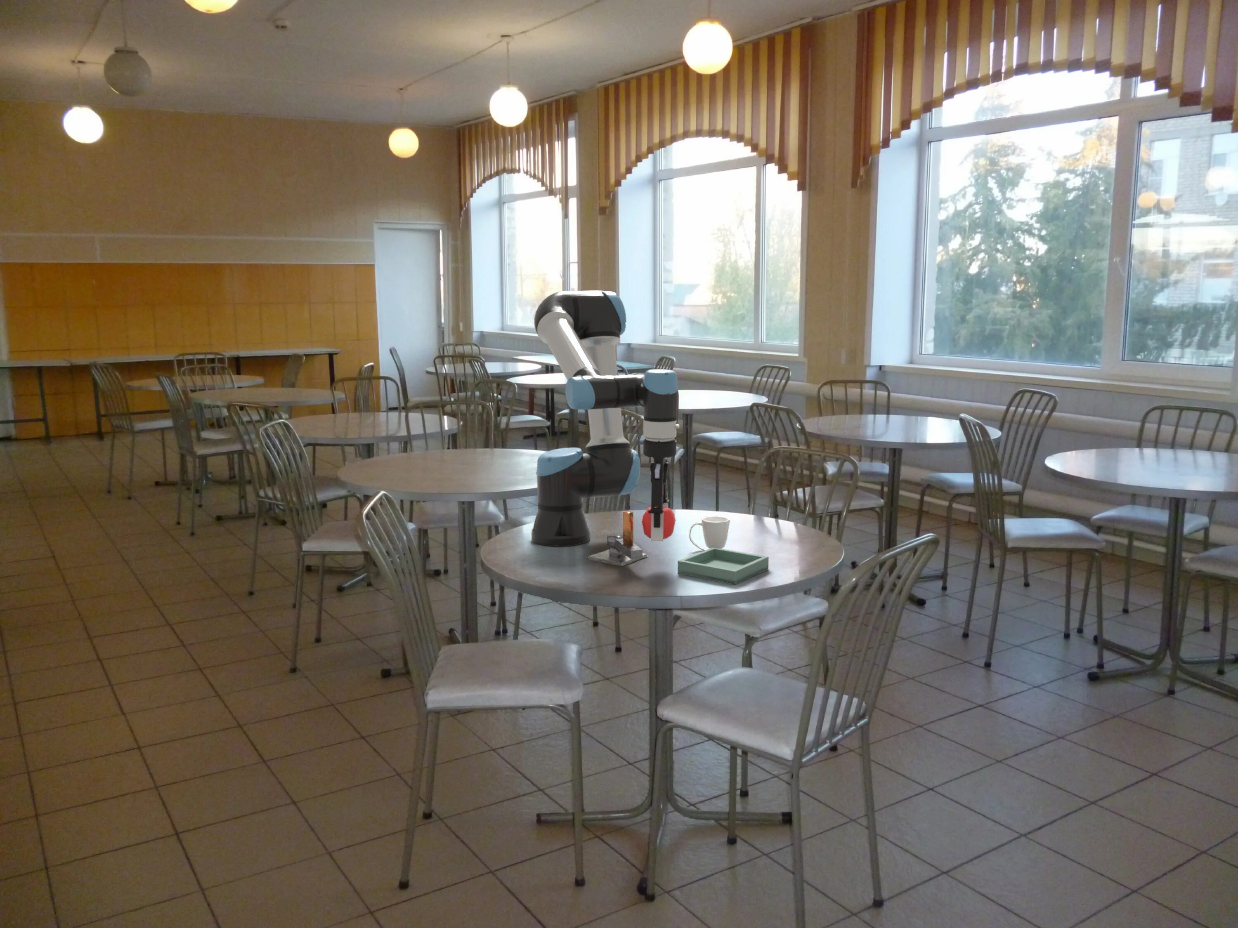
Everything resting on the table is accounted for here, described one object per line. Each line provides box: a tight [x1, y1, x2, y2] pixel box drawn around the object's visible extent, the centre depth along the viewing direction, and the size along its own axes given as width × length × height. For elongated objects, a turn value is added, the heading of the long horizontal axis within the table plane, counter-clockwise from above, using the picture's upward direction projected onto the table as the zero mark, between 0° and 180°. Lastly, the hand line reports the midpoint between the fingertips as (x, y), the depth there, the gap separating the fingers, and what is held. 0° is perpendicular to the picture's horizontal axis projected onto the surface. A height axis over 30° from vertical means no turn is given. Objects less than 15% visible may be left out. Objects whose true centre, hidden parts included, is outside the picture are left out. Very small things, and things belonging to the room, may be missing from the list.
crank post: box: [587, 546, 648, 567], centre depth 241 cm, size 10×10×3 cm
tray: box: [677, 547, 770, 586], centre depth 229 cm, size 15×15×3 cm
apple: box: [641, 506, 676, 540], centre depth 231 cm, size 8×8×8 cm
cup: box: [688, 515, 731, 551], centre depth 247 cm, size 7×10×8 cm
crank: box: [606, 510, 644, 559], centre depth 234 cm, size 16×5×10 cm, turn 18°
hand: (658, 535), depth 232 cm, fingers closed on apple, 8 cm apart
